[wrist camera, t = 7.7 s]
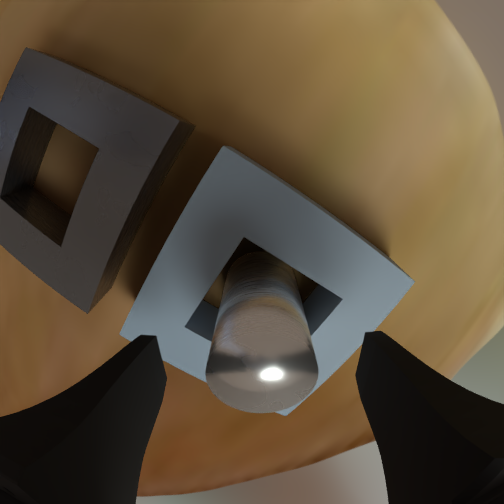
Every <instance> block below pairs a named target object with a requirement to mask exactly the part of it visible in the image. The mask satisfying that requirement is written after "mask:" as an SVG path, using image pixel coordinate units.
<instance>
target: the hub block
mask: <svg viewBox="0 0 504 504" xmlns="http://www.w3.org/2000/svg"><path fill="white" fill-rule="evenodd" d="M243 237H245V238H247V239H248V240H250V241H251V242H253V243H255V244H256V245H258V246H259V247H261V248H263V249H264V250H266V251H267V252H269V253H271V254H272V255H274V256H275V257H277V258H279V259H280V260H282V261H283V262H285V263H287V264H288V265H290V266H291V267H293V268H294V269H296V270H298V271H299V272H301V273H302V274H304V275H306V276H307V277H309V278H310V279H312V280H314V281H315V282H317V283H318V286H317V287H316V288H315V289H314V291H313V292H312V293H311V294H310V296H309V297H308V298H307V299H306V301H305V302H304V303H303V304H302V305H303V309H304V312H305V316H306V320H307V324H308V328H309V332H310V336H311V340H312V344H313V348H314V352H315V356H316V360H317V364H318V370H319V374H318V380H317V382H316V385H315V387H314V389H313V390H312V391H311V393H310V394H309V395H311V394H312V393H313V392H314V391H315V390H316V389H317V388H318V387H319V386H320V385H321V384H322V383H324V382H325V381H326V380H327V379H328V378H329V377H330V376H331V375H332V374H333V373H334V372H335V371H336V370H337V369H338V368H339V367H340V366H341V365H342V364H343V363H344V362H345V361H346V360H347V359H348V358H349V357H350V356H351V355H352V354H353V353H354V352H355V351H356V350H357V349H358V348H359V347H360V345H361V344H362V343H363V340H364V335H365V332H373V331H374V330H375V329H376V328H377V327H378V326H379V325H380V323H381V322H382V321H383V320H384V319H385V318H386V317H387V315H388V314H389V313H390V312H391V311H392V310H393V308H394V307H395V306H396V305H397V304H398V302H399V301H400V300H401V299H402V297H403V296H404V295H405V294H406V292H407V291H408V290H409V289H410V287H411V286H412V285H413V284H414V282H415V281H414V280H413V279H412V278H411V277H410V276H408V275H407V274H406V273H405V272H404V271H403V270H402V269H401V268H400V267H399V266H398V265H397V264H396V263H395V262H394V261H393V260H392V259H391V258H389V257H388V256H387V255H386V254H384V253H383V252H382V251H380V250H379V249H378V248H377V247H375V246H374V245H373V244H372V243H370V242H369V241H368V240H366V239H365V238H364V237H362V236H361V235H360V234H358V233H357V232H356V231H354V230H353V229H352V228H350V227H349V226H348V225H346V224H345V223H344V222H342V221H341V220H340V219H338V218H337V217H335V216H334V215H333V214H331V213H330V212H329V211H327V210H326V209H324V208H323V207H322V206H320V205H319V204H317V203H316V202H315V201H313V200H312V199H310V198H309V197H307V196H306V195H304V194H303V193H302V192H300V191H299V190H297V189H296V188H294V187H293V186H291V185H290V184H288V183H287V182H285V181H284V180H282V179H281V178H279V177H278V176H276V175H275V174H273V173H272V172H270V171H269V170H267V169H266V168H264V167H263V166H261V165H259V164H258V163H256V162H255V161H253V160H252V159H250V158H248V157H247V156H245V155H244V154H242V153H240V152H239V151H237V150H236V149H234V148H232V147H231V146H222V148H221V149H220V151H219V153H218V154H217V156H216V157H215V159H214V160H213V162H212V164H211V165H210V167H209V168H208V170H207V172H206V173H205V175H204V177H203V178H202V180H201V182H200V183H199V185H198V187H197V188H196V190H195V192H194V193H193V195H192V197H191V198H190V200H189V202H188V203H187V205H186V207H185V209H184V210H183V212H182V214H181V215H180V217H179V219H178V221H177V223H176V224H175V226H174V228H173V230H172V231H171V233H170V235H169V237H168V239H167V241H166V242H165V244H164V246H163V248H162V250H161V252H160V253H159V255H158V257H157V259H156V261H155V263H154V265H153V267H152V269H151V271H150V272H149V274H148V276H147V278H146V280H145V282H144V284H143V286H142V288H141V290H140V292H139V294H138V296H137V298H136V300H135V302H134V304H133V306H132V309H131V311H130V313H129V315H128V317H127V319H126V321H125V323H124V325H123V328H122V330H121V332H120V335H121V336H123V337H125V338H126V339H128V340H129V341H133V340H134V339H135V338H137V337H138V336H139V335H156V336H157V340H158V344H159V348H160V353H161V357H162V360H164V361H166V362H168V363H170V364H171V365H173V366H175V367H177V368H179V369H181V370H183V371H185V372H187V373H189V374H191V375H193V376H195V377H197V378H199V379H201V380H203V381H205V382H207V381H206V375H205V371H206V365H207V361H208V356H209V352H210V347H211V343H212V338H213V334H214V329H215V325H216V320H217V316H218V312H219V309H218V308H216V307H214V306H212V305H211V304H209V303H207V302H206V301H204V300H202V299H203V298H204V296H205V295H206V293H207V292H208V290H209V288H210V287H211V285H212V284H213V282H214V281H215V279H216V278H217V276H218V275H219V273H220V272H221V270H222V269H223V267H224V266H225V264H226V263H227V261H228V260H229V258H230V257H231V255H232V254H233V252H234V251H235V249H236V248H237V246H238V245H239V243H240V242H241V240H242V239H243ZM309 395H308V396H309ZM308 396H307V397H308ZM307 397H306V398H307ZM306 398H305V399H306ZM305 399H303V400H302V401H301V402H299V403H297V404H296V405H294V406H292V407H290V408H287V409H284V410H281V411H276V413H279V414H282V415H284V416H287V415H288V414H289V413H290V412H291V411H292V410H294V409H295V408H296V407H297V406H298V405H299V404H300V403H302V402H303V401H304V400H305Z"/></svg>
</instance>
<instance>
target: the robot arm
mask: <svg viewBox="0 0 504 504" xmlns="http://www.w3.org/2000/svg"><path fill="white" fill-rule="evenodd" d="M355 376H356V381H357V385H358V390H359V394H360V398H361V401H362V404H363V407H364V409H365V412H366V415H367V418H368V420H369V423H370V426H371V428H372V431H373V434H374V437H375V439H376V442H377V445H378V448H379V452H380V455H381V459H382V464H383V469H384V474H385V480H386V487H387V493H388V502H389V504H504V404H501V403H498V402H495V401H492V400H490V399H488V398H485V397H483V396H480V395H478V394H476V393H473V392H471V391H469V390H467V389H465V388H463V387H462V386H460V385H458V384H456V383H454V382H452V381H451V380H449V379H447V378H446V377H444V376H443V375H441V374H440V373H438V372H436V371H435V370H433V369H432V368H430V367H429V366H428V365H426V364H425V363H423V362H422V361H421V360H419V359H418V358H417V357H415V356H414V355H413V354H411V353H410V352H409V351H407V350H406V349H405V348H403V347H402V346H401V345H400V344H398V343H397V342H396V341H394V340H393V339H392V338H390V337H389V336H388V335H386V334H385V333H383V332H382V331H373V332H365V335H364V340H363V344H362V349H361V354H360V358H359V362H358V366H357V371H356V375H355ZM166 381H167V376H166V372H165V369H164V365H163V361H162V357H161V353H160V348H159V344H158V340H157V336H156V335H139V336H138V337H137V338H135V339H134V340H133V341H131V342H130V343H129V344H128V345H127V346H125V347H124V348H123V349H122V350H120V351H119V352H118V353H117V354H115V355H114V356H113V357H112V358H110V359H109V360H108V361H107V362H105V363H104V364H103V365H102V366H100V367H99V368H98V369H96V370H95V371H93V372H92V373H91V374H89V375H88V376H86V377H85V378H84V379H82V380H81V381H79V382H78V383H76V384H75V385H73V386H72V387H70V388H68V389H67V390H65V391H63V392H61V393H60V394H58V395H56V396H54V397H52V398H50V399H48V400H46V401H44V402H41V403H39V404H37V405H35V406H33V407H30V408H28V409H25V410H22V411H19V412H16V413H13V414H10V415H6V416H3V417H0V504H136V496H137V489H138V482H139V477H140V471H141V466H142V461H143V457H144V454H145V450H146V447H147V444H148V441H149V438H150V435H151V433H152V430H153V427H154V424H155V421H156V418H157V415H158V413H159V410H160V407H161V404H162V400H163V396H164V391H165V386H166Z"/></svg>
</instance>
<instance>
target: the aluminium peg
mask: <svg viewBox="0 0 504 504" xmlns="http://www.w3.org/2000/svg"><path fill="white" fill-rule="evenodd" d="M318 374H319V370H318V364H317V360H316V356H315V352H314V348H313V344H312V340H311V336H310V332H309V328H308V324H307V320H306V316H305V312H304V309H303V305H302V301H301V297H300V293H299V290H298V286H297V282H296V279H295V275H294V272H293V270H292V268H291V266H290V265H288V264H287V263H285V262H283V261H282V260H280V259H279V258H277V257H275V256H274V255H272V254H271V253H269V252H266V251H256V252H251V253H248V254H245V255H243V256H241V257H240V258H239V259H237V260H236V261H235V262H234V263H233V264H232V266H231V267H230V269H229V271H228V273H227V277H226V281H225V286H224V290H223V294H222V299H221V303H220V307H219V312H218V316H217V320H216V325H215V329H214V334H213V338H212V343H211V347H210V352H209V356H208V361H207V365H206V371H205V375H206V381H207V384H208V386H209V388H210V390H211V391H212V392H213V394H214V395H215V396H216V397H217V398H218V399H220V400H221V401H222V402H224V403H225V404H227V405H229V406H231V407H233V408H236V409H238V410H242V411H246V412H252V413H270V412H276V411H281V410H284V409H287V408H290V407H292V406H294V405H296V404H297V403H299V402H301V401H302V400H303V399H305V398H306V397H307V396H308V395H309V394H310V393H311V391H312V390H313V389H314V387H315V385H316V382H317V380H318Z"/></svg>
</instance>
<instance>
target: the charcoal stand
mask: <svg viewBox="0 0 504 504" xmlns="http://www.w3.org/2000/svg"><path fill="white" fill-rule="evenodd" d="M57 123H58V124H60V125H61V126H63V127H65V128H66V129H68V130H69V131H71V132H73V133H74V134H76V135H78V136H79V137H81V138H83V139H84V140H86V141H88V142H89V143H91V144H93V145H94V146H96V147H98V148H99V151H98V153H97V155H96V157H95V159H94V161H93V164H92V166H91V168H90V170H89V173H88V175H87V177H86V180H85V182H84V185H83V187H82V190H81V192H80V195H79V197H78V200H77V202H76V205H75V208H74V210H73V213H72V216H71V215H69V214H68V213H66V212H65V211H64V210H62V209H61V208H59V207H58V206H57V205H55V204H54V203H53V202H51V201H50V200H49V199H47V198H46V197H45V196H43V195H42V194H40V193H39V192H38V191H37V190H35V189H34V188H33V186H34V182H35V179H36V176H37V173H38V170H39V167H40V164H41V161H42V159H43V156H44V153H45V151H46V148H47V145H48V143H49V140H50V138H51V135H52V133H53V131H54V128H55V126H56V124H57ZM195 127H196V126H195V125H193V124H191V123H189V122H188V121H186V120H184V119H182V118H180V117H179V116H177V115H175V114H173V113H171V112H170V111H168V110H166V109H164V108H162V107H160V106H159V105H157V104H155V103H153V102H151V101H149V100H147V99H145V98H143V97H141V96H140V95H138V94H136V93H134V92H132V91H130V90H128V89H126V88H124V87H122V86H120V85H118V84H116V83H114V82H111V81H109V80H107V79H105V78H103V77H101V76H99V75H97V74H95V73H92V72H90V71H88V70H86V69H84V68H81V67H79V66H77V65H75V64H72V63H70V62H68V61H65V60H63V59H61V58H58V57H56V56H53V55H50V54H46V53H43V52H40V51H37V50H34V49H30V48H27V47H26V48H25V50H24V51H23V53H22V55H21V57H20V59H19V61H18V63H17V65H16V67H15V70H14V72H13V74H12V76H11V78H10V80H9V83H8V85H7V87H6V90H5V92H4V95H3V97H2V100H1V102H0V244H1V245H2V246H3V247H4V248H5V249H6V250H7V251H8V252H9V253H10V254H12V255H13V256H14V257H15V258H16V259H17V260H18V261H20V262H21V263H22V264H23V265H24V266H26V267H27V268H28V269H29V270H30V271H31V272H33V273H34V274H35V275H36V276H38V277H39V278H40V279H41V280H43V281H44V282H45V283H46V284H48V285H49V286H50V287H52V288H53V289H54V290H55V291H57V292H58V293H59V294H61V295H62V296H63V297H65V298H66V299H68V300H69V301H70V302H72V303H73V304H74V305H76V306H77V307H79V308H80V309H81V310H83V311H84V312H86V313H87V314H88V313H89V312H90V311H91V310H92V309H93V307H94V306H95V305H96V304H97V303H98V302H99V301H100V300H101V299H102V298H103V296H104V295H105V294H106V293H107V292H108V291H109V290H110V289H111V288H112V286H113V283H114V281H115V279H116V276H117V274H118V272H119V269H120V267H121V265H122V263H123V260H124V258H125V256H126V254H127V252H128V250H129V247H130V245H131V243H132V241H133V239H134V237H135V235H136V233H137V231H138V229H139V227H140V225H141V223H142V221H143V219H144V217H145V215H146V213H147V211H148V209H149V207H150V205H151V203H152V201H153V199H154V197H155V195H156V194H157V192H158V190H159V188H160V186H161V184H162V183H163V181H164V179H165V177H166V175H167V174H168V172H169V170H170V168H171V167H172V165H173V163H174V161H175V160H176V158H177V156H178V155H179V153H180V151H181V149H182V148H183V146H184V144H185V143H186V141H187V140H188V138H189V136H190V135H191V133H192V131H193V130H194V128H195Z"/></svg>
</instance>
